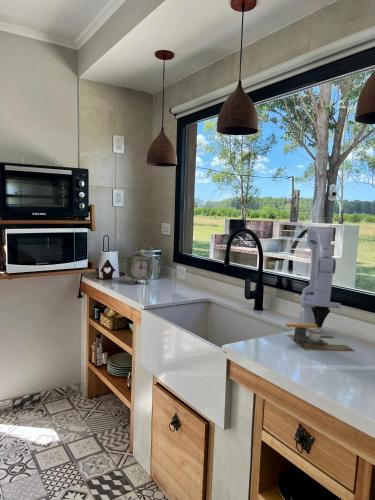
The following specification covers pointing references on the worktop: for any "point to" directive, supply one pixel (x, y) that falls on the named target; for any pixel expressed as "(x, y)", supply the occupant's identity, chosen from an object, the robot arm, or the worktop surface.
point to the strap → (301, 325)
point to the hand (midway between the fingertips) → (318, 326)
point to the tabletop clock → (139, 266)
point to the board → (303, 341)
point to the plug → (314, 335)
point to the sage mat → (333, 341)
